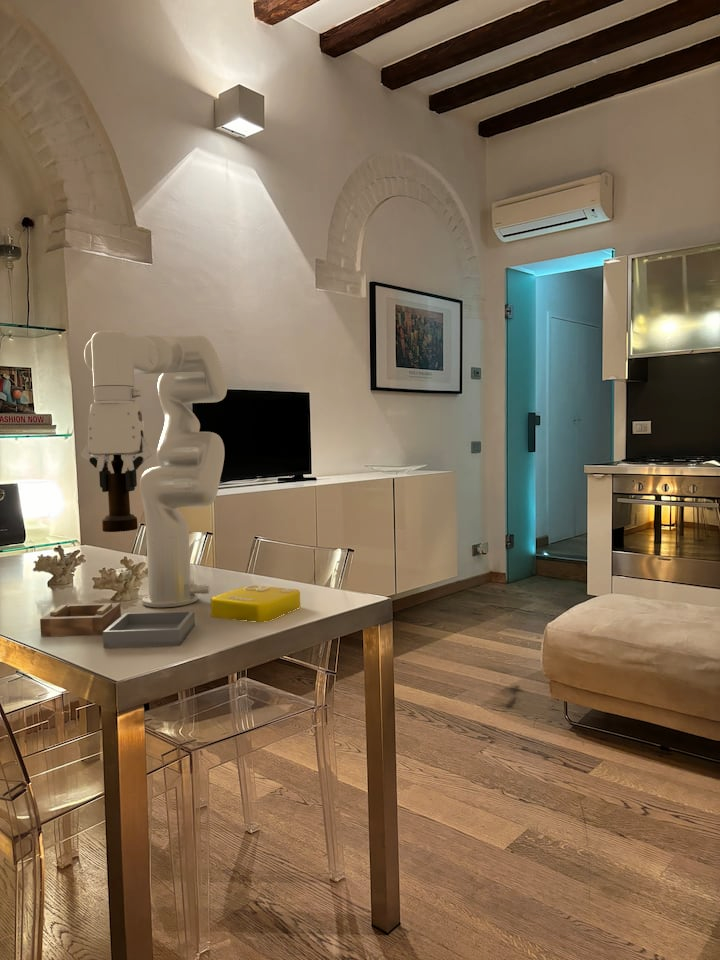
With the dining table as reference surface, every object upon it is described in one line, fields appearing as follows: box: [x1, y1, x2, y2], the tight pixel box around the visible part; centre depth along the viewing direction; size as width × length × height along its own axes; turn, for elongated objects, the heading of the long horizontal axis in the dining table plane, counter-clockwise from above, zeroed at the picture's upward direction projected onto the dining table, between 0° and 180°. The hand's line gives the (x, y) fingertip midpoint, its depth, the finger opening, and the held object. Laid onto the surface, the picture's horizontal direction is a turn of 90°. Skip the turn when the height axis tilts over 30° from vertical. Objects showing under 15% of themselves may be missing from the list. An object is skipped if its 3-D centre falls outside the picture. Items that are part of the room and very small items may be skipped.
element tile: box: [210, 584, 301, 623], centre depth 159 cm, size 15×15×5 cm
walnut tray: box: [39, 602, 122, 638], centre depth 149 cm, size 12×12×4 cm
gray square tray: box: [102, 610, 196, 649], centre depth 141 cm, size 14×14×3 cm
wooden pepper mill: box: [101, 455, 138, 533], centre depth 142 cm, size 7×6×18 cm
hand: (118, 490), depth 142 cm, fingers closed on wooden pepper mill, 4 cm apart
